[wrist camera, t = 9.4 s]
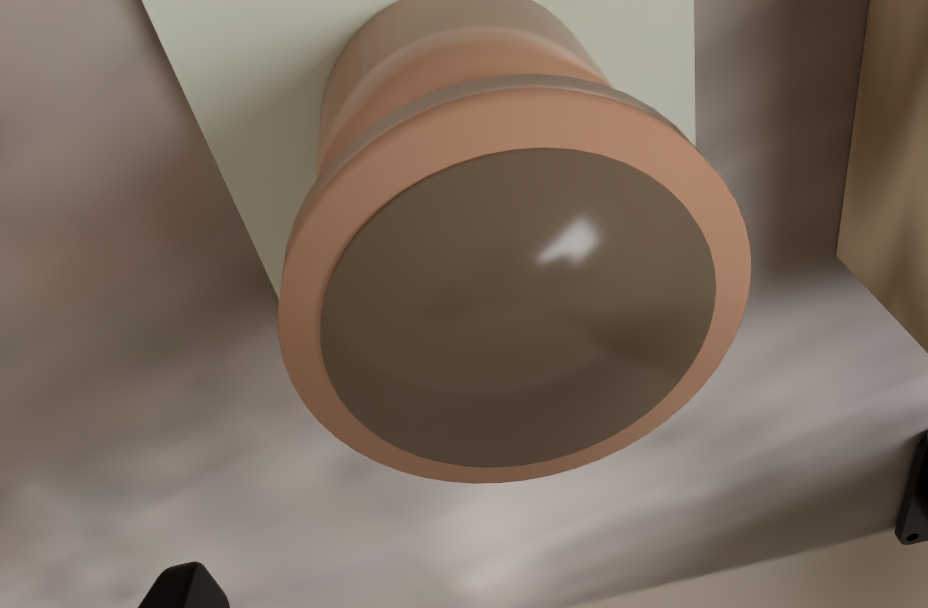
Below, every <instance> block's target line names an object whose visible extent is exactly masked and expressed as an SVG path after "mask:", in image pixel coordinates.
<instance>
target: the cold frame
mask: <svg viewBox="0 0 928 608" xmlns="http://www.w3.org/2000/svg"><path fill="white" fill-rule="evenodd" d="M836 256H837V257H838V258H839V259H840V260H841V261H842V262H843V263H844V264H845V265H846V266H847V267H848V269H849V270H850V271H851V272H852V273H853V274H854V275H855V276H856V277H857V278H858V279H859V280H860V281H861V282H862V283H863V285H864V286H865V287H866V288H867V289H868V290H869V291H870V292H871V293H872V294H873V295H874V296H875V297H876V298H877V299H878V301H879V302H880V303H881V304H882V305H883V306H884V307H885V308H886V309H887V310H888V311H889V312H890V313H891V314H892V315H893V317H894V318H895V319H896V320H897V321H898V322H899V323H900V324H901V325H902V326H903V327H904V328H905V329H906V330H907V331H908V333H909V334H910V335H911V336H912V337H913V338H914V339H915V340H916V341H917V342H918V343H919V344H920V345H921V346H922V347H923V349H924V350H925V351H926V352H927V353H928V0H870V3H869V10H868V18H867V25H866V33H865V41H864V48H863V56H862V63H861V71H860V79H859V86H858V94H857V101H856V109H855V116H854V124H853V132H852V139H851V147H850V154H849V162H848V169H847V177H846V185H845V192H844V200H843V207H842V215H841V223H840V230H839V238H838V245H837V253H836Z"/></svg>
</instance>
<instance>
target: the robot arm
mask: <svg viewBox="0 0 928 608" xmlns="http://www.w3.org/2000/svg"><path fill="white" fill-rule="evenodd" d="M895 535H896V537H897V538H898V540H899V541H900V542H901V543H902V544H904V545H909V544H914V543H919V542H923V541H928V433H927V435H926V436H925V437H923V438H922V439H921V440H920V442H919V443H918V446H917V450H916V454H915V458H914V461H913V465H912V469H911V473H910V476H909V480H908V484H907V488H906V491H905V495H904V499H903V503H902V506H901V510H900V514H899V517H898V521H897V525H896V529H895ZM138 608H230V605H229V602H228V599H227V596H226V595H225V593H224V592H223V590H222V589H221V588H220V586H219V585H218V584H217V582H216V581H215V580H214V578H213V577H212V576H211V574H210V573H209V572H208V571H207V569H206V568H205V567H204V566H203V564H201V563H199V562H189V563H185V564H181V565H177V566H172V567H169V568H167V569H166V570H164V571H163V572H162V573H161V574H160V575H159V577H158V578H157V580H156V581H155V583H154V584H153V586H152V587H151V589H150V590H149V592H148V593H147V595H146V596H145V598H144V599H143V601H142V602H141V604H140V605H139V607H138Z"/></svg>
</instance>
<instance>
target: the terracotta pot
mask: <svg viewBox="0 0 928 608" xmlns="http://www.w3.org/2000/svg"><path fill="white" fill-rule="evenodd" d="M750 279H751V254H750V245H749V240H748V235H747V230H746V226H745V223H744V220H743V218H742V215H741V213H740V210H739V208H738V205H737V203H736V200H735V199H734V197H733V196H732V194H731V192H730V191H729V189H728V188H727V186H726V184H725V183H724V181H723V180H722V178H721V177H720V176H719V174H718V173H717V172H716V171H715V170H714V169H713V167H712V166H711V165H710V164H709V163H708V161H707V160H706V159H705V158H704V157H703V156H702V154H701V153H700V152H699V151H698V150H697V149H696V147H695V146H694V145H693V144H692V143H691V142H690V141H689V140H688V138H687V137H686V136H685V135H684V134H683V133H682V132H681V131H680V130H679V129H678V127H677V126H675V125H674V124H673V123H672V122H670V121H669V120H668V119H667V118H665V117H664V116H663V115H662V114H660V113H659V112H658V111H657V110H655V109H654V108H652V107H650V106H648V105H647V104H645V103H643V102H641V101H640V100H638V99H636V98H634V97H632V96H631V95H629V94H626V93H624V92H621V91H618V90H616V89H615V88H614V87H613V86H612V84H611V83H610V82H609V80H608V79H607V78H606V76H605V75H604V74H603V73H602V71H601V70H600V69H599V67H598V66H597V65H596V63H595V62H594V61H593V59H592V58H591V57H590V55H589V54H588V53H587V51H586V50H585V49H584V48H583V46H582V45H581V44H580V42H579V41H578V40H577V38H576V37H575V36H574V34H573V33H572V32H571V31H570V30H569V29H568V28H567V27H566V26H565V24H564V23H563V22H562V21H561V20H560V19H559V18H557V17H556V16H555V15H554V14H552V13H551V12H550V11H549V10H548V9H546V8H545V7H543V6H542V5H540V4H538V3H536V2H535V1H533V0H399V1H397V2H395V3H393V4H391V5H389V6H388V7H386V8H385V9H383V10H382V11H380V12H379V13H377V14H376V15H375V16H373V17H372V18H371V19H370V20H369V21H368V22H367V23H366V24H364V25H363V26H362V27H361V28H360V29H359V30H358V31H357V32H356V34H355V35H354V36H353V37H352V38H351V39H350V41H349V42H348V43H347V44H346V46H345V47H344V49H343V51H342V52H341V54H340V55H339V57H338V58H337V60H336V62H335V64H334V66H333V68H332V71H331V73H330V75H329V77H328V80H327V84H326V87H325V90H324V94H323V99H322V105H321V112H320V125H319V139H318V154H317V168H316V182H315V183H314V185H313V186H312V188H311V189H310V190H309V192H308V193H307V195H306V197H305V199H304V201H303V203H302V205H301V207H300V209H299V211H298V213H297V215H296V218H295V220H294V223H293V226H292V229H291V232H290V235H289V239H288V242H287V245H286V251H285V258H284V266H283V273H282V281H281V290H280V298H279V307H278V330H279V341H280V346H281V351H282V355H283V360H284V363H285V366H286V368H287V371H288V373H289V376H290V379H291V381H292V384H293V385H294V387H295V389H296V390H297V392H298V394H299V395H300V397H301V399H302V400H303V402H304V404H305V405H306V406H307V407H308V409H309V410H310V411H311V412H312V414H313V415H314V416H315V417H316V418H317V420H318V421H319V422H320V423H321V424H322V425H323V426H324V427H326V428H327V429H328V430H329V431H330V432H331V433H332V434H333V435H334V436H335V437H337V438H338V439H339V440H341V441H342V442H344V443H345V444H347V445H348V446H350V447H351V448H352V449H354V450H355V451H357V452H359V453H361V454H363V455H365V456H366V457H368V458H370V459H372V460H374V461H376V462H378V463H381V464H383V465H386V466H388V467H391V468H394V469H396V470H399V471H402V472H406V473H409V474H413V475H417V476H420V477H424V478H430V479H436V480H442V481H448V482H462V483H503V482H513V481H522V480H529V479H534V478H539V477H544V476H550V475H553V474H557V473H561V472H564V471H568V470H571V469H575V468H578V467H580V466H583V465H586V464H589V463H591V462H594V461H597V460H599V459H601V458H604V457H606V456H608V455H610V454H612V453H614V452H616V451H619V450H621V449H623V448H625V447H626V446H628V445H630V444H631V443H633V442H635V441H637V440H638V439H640V438H642V437H644V436H645V435H647V434H648V433H650V432H651V431H652V430H654V429H655V428H657V427H658V426H659V425H661V424H662V423H664V422H665V421H666V420H668V419H669V418H670V417H671V416H672V415H673V414H675V413H676V412H677V411H678V410H679V409H680V408H682V407H683V406H684V405H685V404H686V403H687V402H688V401H689V400H690V399H691V398H692V397H693V396H694V395H695V394H696V393H697V392H698V391H699V390H700V389H701V387H702V386H703V385H704V384H705V383H706V381H707V380H708V379H709V378H710V376H711V375H712V374H713V372H714V371H715V370H716V368H717V367H718V366H719V364H720V363H721V361H722V359H723V358H724V356H725V354H726V352H727V351H728V349H729V347H730V346H731V344H732V342H733V340H734V337H735V335H736V333H737V330H738V328H739V326H740V324H741V321H742V318H743V314H744V311H745V307H746V303H747V300H748V295H749V287H750Z"/></svg>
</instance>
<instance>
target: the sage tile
mask: <svg viewBox="0 0 928 608" xmlns="http://www.w3.org/2000/svg"><path fill="white" fill-rule="evenodd" d="M397 1H399V0H142V2H143V4H144V6H145V9H146V11H147V13H148V15H149V17H150V20H151V22H152V24H153V26H154V28H155V30H156V33H157V35H158V37H159V39H160V41H161V43H162V46H163V48H164V50H165V52H166V54H167V57H168V59H169V61H170V63H171V65H172V67H173V70H174V72H175V74H176V76H177V78H178V81H179V83H180V85H181V87H182V89H183V91H184V94H185V96H186V98H187V100H188V102H189V105H190V107H191V109H192V111H193V113H194V115H195V118H196V120H197V122H198V124H199V126H200V129H201V131H202V133H203V135H204V137H205V139H206V142H207V144H208V146H209V148H210V150H211V153H212V155H213V157H214V159H215V161H216V163H217V166H218V168H219V170H220V172H221V174H222V176H223V179H224V181H225V183H226V185H227V187H228V190H229V192H230V194H231V196H232V198H233V200H234V203H235V205H236V207H237V209H238V211H239V214H240V216H241V218H242V220H243V222H244V224H245V227H246V229H247V231H248V233H249V235H250V238H251V240H252V242H253V244H254V246H255V248H256V251H257V253H258V255H259V257H260V259H261V262H262V264H263V266H264V268H265V270H266V272H267V275H268V277H269V279H270V281H271V283H272V285H273V288H274V290H275V292H276V294H277V296H278V299H279V298H280V290H281V281H282V273H283V266H284V258H285V251H286V245H287V242H288V239H289V235H290V232H291V229H292V226H293V223H294V220H295V218H296V215H297V213H298V211H299V209H300V207H301V205H302V203H303V201H304V199H305V197H306V195H307V193H308V192H309V190H310V189H311V188H312V186H313V185H314V183H315V182H316V168H317V154H318V139H319V125H320V112H321V105H322V99H323V94H324V90H325V87H326V84H327V80H328V77H329V75H330V73H331V71H332V68H333V66H334V64H335V62H336V60H337V58H338V57H339V55H340V54H341V52H342V51H343V49H344V47H345V46H346V44H347V43H348V42H349V41H350V39H351V38H352V37H353V36H354V35H355V34H356V32H357V31H358V30H359V29H360V28H361V27H362V26H363V25H364V24H366V23H367V22H368V21H369V20H370V19H371V18H372V17H373V16H375V15H376V14H377V13H379V12H380V11H382V10H383V9H385V8H386V7H388V6H389V5H391V4H393V3H395V2H397ZM533 1H535V2H536V3H538V4H540V5H542V6H543V7H545V8H546V9H548V10H549V11H550V12H551V13H552V14H554V15H555V16H556V17H557V18H559V19H560V20H561V21H562V22H563V23H564V24H565V26H566V27H567V28H568V29H569V30H570V31H571V32H572V33H573V34H574V36H575V37H576V38H577V40H578V41H579V42H580V44H581V45H582V46H583V48H584V49H585V50H586V51H587V53H588V54H589V55H590V57H591V58H592V59H593V61H594V62H595V63H596V65H597V66H598V67H599V69H600V70H601V71H602V73H603V74H604V75H605V76H606V78H607V79H608V80H609V82H610V83H611V84H612V86H613V87H614V88H615V89H616V90H618V91H621V92H624V93H626V94H629V95H631V96H632V97H634V98H636V99H638V100H640V101H641V102H643V103H645V104H647V105H648V106H650V107H652V108H654V109H655V110H657V111H658V112H659V113H660V114H662V115H663V116H664V117H665V118H667V119H668V120H669V121H670V122H672V123H673V124H674V125H675V126H677V127H678V129H679V130H680V131H681V132H682V133H683V134H684V135H685V136H686V137H687V138H688V140H689V141H690V142H691V143H692V144H693V145H694V146H695V56H694V0H533Z"/></svg>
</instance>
